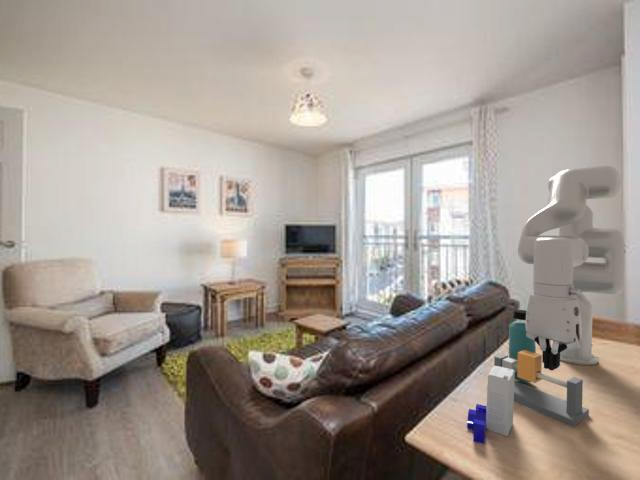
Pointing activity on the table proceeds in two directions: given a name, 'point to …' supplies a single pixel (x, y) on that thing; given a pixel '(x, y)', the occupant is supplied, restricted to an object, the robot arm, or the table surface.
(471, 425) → the cable holder
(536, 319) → the robot arm
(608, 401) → the table surface
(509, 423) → the skincare box
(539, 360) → the orange rectangular block
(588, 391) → the table surface
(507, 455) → the table surface
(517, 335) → the beverage bottle
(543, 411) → the rail
